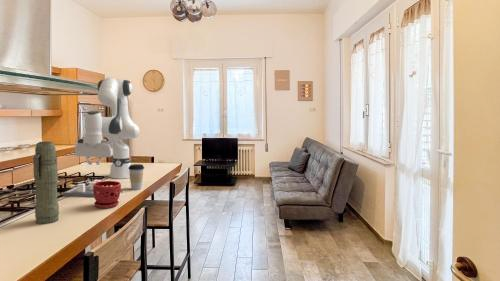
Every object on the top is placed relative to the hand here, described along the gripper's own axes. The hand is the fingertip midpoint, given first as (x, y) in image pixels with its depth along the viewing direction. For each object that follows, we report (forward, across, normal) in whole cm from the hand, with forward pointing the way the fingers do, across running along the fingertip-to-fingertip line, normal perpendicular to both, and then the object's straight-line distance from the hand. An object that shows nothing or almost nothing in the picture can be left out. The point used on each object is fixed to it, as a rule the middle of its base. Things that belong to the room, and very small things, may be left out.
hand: (94, 164), depth 189 cm
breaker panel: (+18, +8, -6) cm, 20 cm away
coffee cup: (+18, -18, -19) cm, 32 cm away
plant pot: (+18, -15, +18) cm, 30 cm away
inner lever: (+16, +3, -11) cm, 20 cm away
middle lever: (+16, +4, -5) cm, 17 cm away
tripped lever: (+16, +7, 0) cm, 18 cm away
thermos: (+18, +2, +43) cm, 47 cm away
